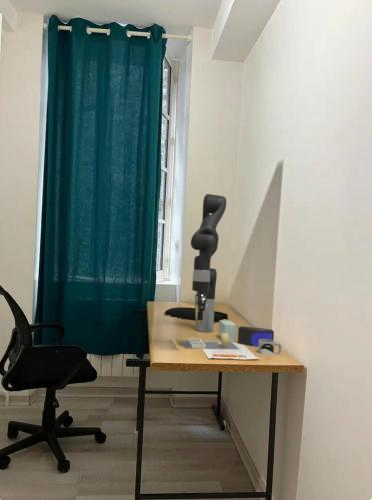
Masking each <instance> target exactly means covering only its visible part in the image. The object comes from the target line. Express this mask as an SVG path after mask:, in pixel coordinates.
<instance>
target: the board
mask: <svg viewBox="0 0 372 500" xmlns="http://www.w3.org/2000/svg"><path fill="white" fill-rule="evenodd" d="M220 338H221V340H220V341H203V340H202V339H201V337H200V338H198V337H197V338H196V337H195V338H194V337H190V338H187V340H180V343H181V345H182V346H183V347H184V349H187V350H188V349H189V350H195V349H196V350H240V348H239V347H238V346H237V345H236V344H234V342H233V341H228V333H222V335H221V337H220Z"/></svg>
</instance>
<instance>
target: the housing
mask: <svg viewBox="0 0 372 500" xmlns="http://www.w3.org/2000/svg"><path fill="white" fill-rule="evenodd" d="M218 324H219V325H218V337H220V338H221V335H222V333H228V342H237V330H238V325H237V324H236V323H234V322H233V321H232V320H219V322H218Z"/></svg>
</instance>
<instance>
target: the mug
mask: <svg viewBox="0 0 372 500" xmlns="http://www.w3.org/2000/svg"><path fill="white" fill-rule="evenodd" d="M275 346H278V348H279V349H278V351H275ZM257 349H258V350H257V352H258V353H259V354H262V355H274V354H276V355H280V354H281V353H282V344H281V343H279V342H275V340H274V339H273V340H270V339H259V345H258V347H257Z"/></svg>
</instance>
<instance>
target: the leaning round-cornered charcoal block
mask: <svg viewBox="0 0 372 500" xmlns="http://www.w3.org/2000/svg"><path fill="white" fill-rule="evenodd" d="M237 330H238V333H237V344H240V345H243V346H248V347H256V348H258V345H259V339H270V340H274V335H275V334H274V333H275V331H274V330H273V329H269V328H262V327H252V326H245V325H244V326H243V325H241V326H239V327H238V328H237Z"/></svg>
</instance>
